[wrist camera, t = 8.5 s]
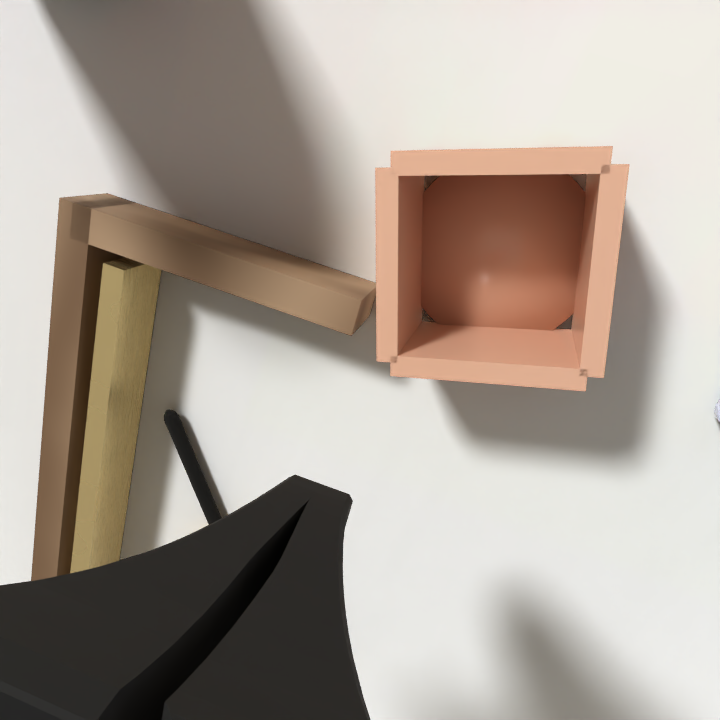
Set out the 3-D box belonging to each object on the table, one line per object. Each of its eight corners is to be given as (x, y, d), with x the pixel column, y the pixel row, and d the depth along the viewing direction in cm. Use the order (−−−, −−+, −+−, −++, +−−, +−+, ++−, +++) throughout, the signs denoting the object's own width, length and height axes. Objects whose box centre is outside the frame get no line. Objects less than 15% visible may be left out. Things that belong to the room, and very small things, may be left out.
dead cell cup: (610, 149, 17) (631, 145, 14) (588, 345, 19) (602, 392, 15) (408, 153, 19) (375, 151, 15) (406, 334, 21) (376, 374, 17)
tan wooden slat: (163, 258, 22) (124, 270, 20) (111, 613, 29) (78, 650, 27) (143, 252, 22) (102, 263, 20) (97, 606, 29) (62, 643, 27)
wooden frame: (378, 283, 20) (361, 300, 18) (256, 704, 29) (233, 752, 26) (107, 193, 22) (59, 197, 20) (63, 618, 30) (25, 656, 28)
